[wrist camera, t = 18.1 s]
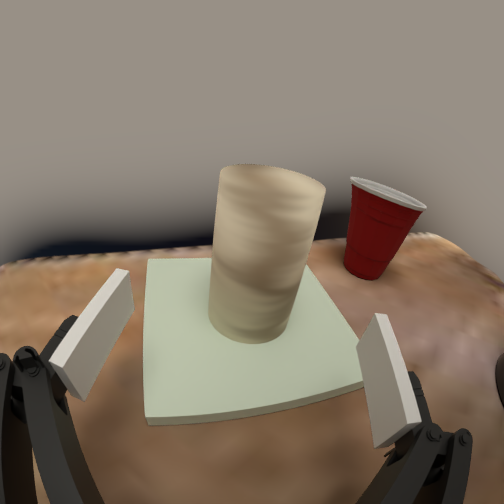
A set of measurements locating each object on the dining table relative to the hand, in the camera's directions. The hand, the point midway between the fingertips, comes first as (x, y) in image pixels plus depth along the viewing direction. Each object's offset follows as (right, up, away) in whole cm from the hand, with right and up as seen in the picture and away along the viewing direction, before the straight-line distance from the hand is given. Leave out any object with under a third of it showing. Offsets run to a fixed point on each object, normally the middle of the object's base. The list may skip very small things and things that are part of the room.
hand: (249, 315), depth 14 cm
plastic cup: (+16, +1, +23) cm, 28 cm away
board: (0, -3, +11) cm, 11 cm away
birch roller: (0, -2, +10) cm, 10 cm away
